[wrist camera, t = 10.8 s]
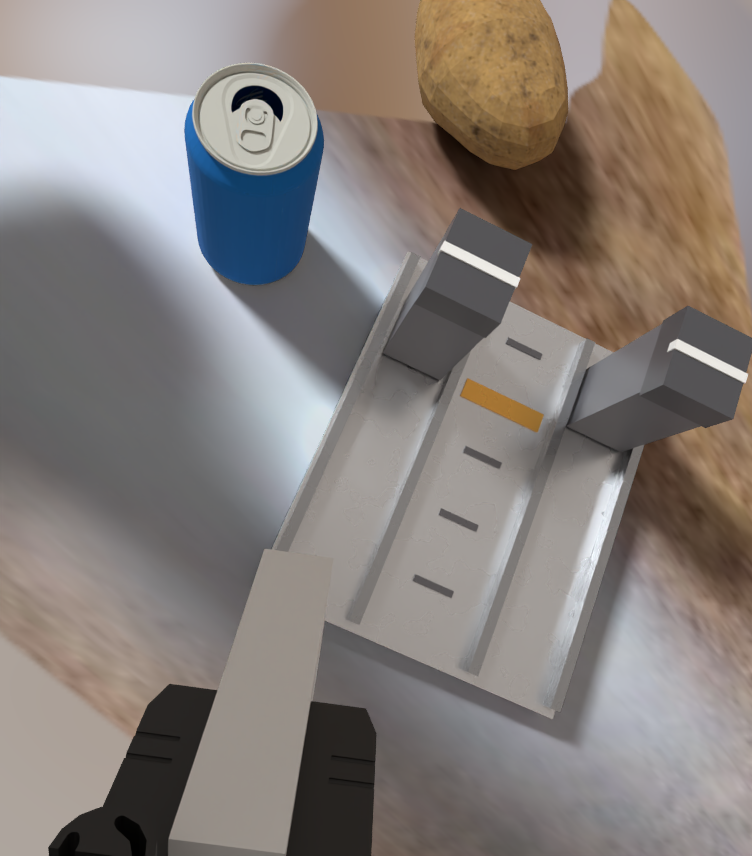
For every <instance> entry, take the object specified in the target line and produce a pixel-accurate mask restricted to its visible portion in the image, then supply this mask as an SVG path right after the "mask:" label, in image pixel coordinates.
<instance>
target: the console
mask: <svg viewBox="0 0 752 856" xmlns="http://www.w3.org/2000/svg"><path fill="white" fill-rule="evenodd" d="M420 257H421V256H419V255H416V254H414V253H410V252H407V254H406V256H405V258H404V260H403V262H402V264H401V266H400V268H399V270H398V272H397V275H396V277H395V279H394V281H393V283H392V286H391V288H390V290H389V292H388V294H387V296H386V299H385V301H384V303H383V305H382V307H381V310H380V312H379V314H378V316H377V318H376V321H375V323H374V325H373V327H372V329H371V331H370V334H369V336H368V338H367V340H366V342H365V345H364V347H363V349H362V351H361V353H360V356H359V358H358V360H357V362H356V364H355V367H354V369H353V371H352V373H351V375H350V377H349V380H348V382H347V384H346V386H345V388H344V391H343V393H342V395H341V397H340V399H339V402H338V404H337V406H336V408H335V410H334V412H333V415H332V417H331V419H330V421H329V423H328V426H327V428H326V430H325V432H324V434H323V437H322V439H321V441H320V443H319V445H318V448H317V450H316V452H315V454H314V456H313V458H312V461H311V463H310V465H309V467H308V469H307V472H306V474H305V476H304V478H303V480H302V483H301V485H300V487H299V489H298V491H297V493H296V496H295V498H294V500H293V502H292V504H291V507H290V509H289V511H288V513H287V515H286V518H285V520H284V522H283V524H282V526H281V528H280V531H279V533H278V535H277V537H276V539H275V542H274V544H273V546H272V548H271V550H278V551H285V552H293V553H300V554H307V555H314V556H321V557H328V558H333V565H332V572H331V579H330V586H329V593H328V600H327V608H326V615H325V621H327V622H329V623H331V624H334V625H336V626H338V627H341V628H343V629H345V630H348V631H350V632H352V633H354V634H357V635H359V636H361V637H364V638H366V639H368V640H371V641H373V642H375V643H377V644H380V645H382V646H384V647H387V648H389V649H391V650H394V651H396V652H398V653H401V654H403V655H405V656H407V657H410V658H412V659H414V660H417V661H419V662H421V663H424V664H426V665H428V666H431V667H433V668H435V669H437V670H440V671H442V672H444V673H447V674H449V675H451V676H454V677H456V678H458V679H461V680H463V681H465V682H467V683H470V684H472V685H474V686H477V687H479V688H481V689H484V690H486V691H488V692H490V693H493V694H495V695H497V696H500V697H502V698H504V699H507V700H509V701H511V702H514V703H516V704H518V705H520V706H523V707H525V708H527V709H530V710H532V711H534V712H537V713H539V714H541V715H544V716H546V717H548V718H550V719H553V717H554V714H555V710H556V711H558V712H561V709H562V706H563V703H564V700H565V696H566V693H567V690H568V687H569V684H570V680H571V677H572V674H573V671H574V668H575V664H576V661H577V658H578V655H579V652H580V649H581V645H582V642H583V639H584V636H585V633H586V629H587V626H588V623H589V620H590V617H591V613H592V610H593V607H594V604H595V601H596V597H597V594H598V591H599V588H600V585H601V582H602V578H603V575H604V572H605V569H606V566H607V562H608V559H609V556H610V553H611V550H612V546H613V543H614V540H615V537H616V534H617V530H618V527H619V524H620V521H621V518H622V515H623V511H624V508H625V505H626V502H627V499H628V495H629V492H630V489H631V486H632V483H633V479H634V476H635V473H636V470H637V467H638V463H639V460H640V457H641V454H642V451H643V448H644V445H641V446H638V447H635V448H632V449H629V450H626V451H623V452H619V451H617V450H615V449H613V448H611V447H609V446H607V445H605V444H602V443H600V442H598V441H596V440H594V439H592V438H590V437H588V436H586V435H584V434H582V433H579V432H577V431H575V430H573V429H571V428H569V427H567V426H566V425H567V422H568V419H569V416H570V413H571V411H572V408H573V405H574V402H575V399H576V396H577V394H578V391H579V388H580V385H581V382H582V379H583V376H584V374H585V371H586V369H587V368H589V367H591V366H592V365H594V364H596V363H597V362H599V361H601V360H602V359H604V358H606V357H608V356H609V355H611V354H613V352H611V351H609V350H607V349H605V348H603V347H601V346H599V345H597V344H595V342H593V341H591V340H589V339H585V338H583V337H581V336H579V335H577V334H575V333H573V332H570V331H568V330H566V329H564V328H562V327H560V326H558V325H556V324H554V323H552V322H550V321H548V320H546V319H544V318H542V317H540V316H538V315H536V314H534V313H532V312H530V311H528V310H526V309H524V308H522V307H520V306H518V305H516V304H514V303H512V302H509V304H508V307H507V309H506V312H505V314H504V317H503V319H502V322H501V324H500V325H499V326H498V327H497V328H496V329H495V330H494V331H492V332H491V333H490V334H489V335H488V336H487V337H486V338H483V339H482V340H481V341H480V342H479V343H478V344H477V345H476V346H475V347H474V348H473V349H472V350H471V351H470V352H469V353H468V354H467V355H466V356H465V357H464V358H463V359H462V360H461V361H460V362H458V363H457V364H456V365H455V366H454V367H453V368H452V369H451V370H450V371H449V372H448V373H447V374H446V375H445V376H444V377H443V378H442V379H441V380H438V379H436V378H434V377H432V376H430V375H428V374H426V373H424V372H421V371H419V370H417V369H415V368H413V367H411V366H409V365H407V364H405V363H403V362H400V361H398V360H396V359H394V358H392V357H390V356H388V355H386V354H384V353H382V352H383V350H384V348H385V346H386V344H387V341H388V339H389V337H390V335H391V332H392V330H393V328H394V326H395V323H396V321H397V319H398V317H399V314H400V312H401V310H402V308H403V305H404V303H405V301H406V299H407V297H408V295H409V293H410V291H411V290H412V288H413V286H414V285H415V283H416V281H417V280H418V278H419V276H420V275H421V273H422V271H423V270H424V268H425V266H426V265H427V263H428V261H426V260H424V259H422V258H420Z"/></svg>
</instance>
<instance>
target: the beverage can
mask: <svg viewBox="0 0 752 856" xmlns="http://www.w3.org/2000/svg"><path fill="white" fill-rule="evenodd" d="M184 131H185V142H186V150H187V158H188V166H189V174H190V181H191V189H192V197H193V205H194V213H195V221H196V229H197V236H198V242H199V246H200V249H201V252H202V254H203V256H204V257H205V259H206V260H207V262H208V263H209V264H210V265H211V266H212V268H213V269H214V270H216V271H217V272H218V273H219V274H221V275H222V276H224V277H226V278H228V279H230V280H232V281H235V282H238V283H242V284H247V285H262V284H268V283H271V282H274V281H277V280H279V279H281V278H283V277H284V276H286V275H287V274H288V273H290V272H291V271H292V270H293V269H294V268H295V267H296V265H297V264H298V262H299V261H300V259H301V257H302V254H303V251H304V247H305V242H306V237H307V232H308V226H309V221H310V216H311V211H312V206H313V201H314V195H315V190H316V185H317V180H318V175H319V170H320V165H321V159H322V154H323V148H324V137H323V130H322V126H321V122H320V120H319V118H318V115H317V113H316V110H315V107H314V104H313V102H312V100H311V98H310V96H309V94H308V93H307V92H306V90H305V89H304V88H303V87H302V86H301V85H300V83H298V82H297V81H296V80H295V79H294V78H292V77H291V76H290V75H288V74H287V73H285V72H283V71H281V70H279V69H276V68H274V67H271V66H268V65H264V64H257V63H239V64H235V65H230V66H227V67H224V68H222V69H220V70H218V71H216V72H215V73H213V74H212V75H210V76H209V77H208V78H207V79H206V80H205V81H204V82H203V84H202V85H201V86H200V88H199V90H198V91H197V94H196V96H195V99H194V100H193V102H192V104H191V105H190V108H189V110H188V113H187V116H186V120H185V129H184Z"/></svg>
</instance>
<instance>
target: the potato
mask: <svg viewBox="0 0 752 856" xmlns="http://www.w3.org/2000/svg"><path fill="white" fill-rule="evenodd" d="M416 20H417V21H416V29H415V48H416V60H417V70H418V82H419V88H420V93H421V98H422V103H423V105H424V107H425V108H426V109H427V111H428V112H429V114H430V115H431V117H432V118H433V119H434V121H435V122H436V123H437V124H438V125H440V126H441V127H442V128H443V129H445V130H446V131H447V132H448V133H449V134H451V135H452V136H453V137H454V138H455V139H456V140H458V141H459V142H460V143H461V144H462V145H463V146H464V147H465V148H467V149H468V150H469V151H470V152H472V153H473V154H475V155H476V156H478V157H480V158H481V159H483V160H484V161H486V162H488V163H489V164H492V165H496V166H500V167H505V168H509V169H513V170H516V169H519V168H522V167H525V166H527V165H530V164H533V163H535V162H538V161H540V160H542V159H543V158H545V157H546V156H548V155H549V154H551V153H553V150H554V148H555V146H556V143H557V141H558V139H559V136H560V134H561V132H562V129H563V127H564V125H565V121H566V117H567V114H568V87H567V80H566V73H565V66H564V61H563V57H562V52H561V48H560V44H559V41H558V38H557V35H556V32H555V29H554V26H553V23H552V20H551V18H550V16H549V15H548V13H547V12H546V10H545V8H544V7H543V5H542V3H541V1H540V0H420V3H419V8H418V12H417V19H416Z"/></svg>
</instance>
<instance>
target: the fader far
mask: <svg viewBox="0 0 752 856" xmlns="http://www.w3.org/2000/svg"><path fill="white" fill-rule="evenodd" d="M751 353H752V338H751V337H749V336H747V335H745V334H743V333H741V332H739V331H737V330H735V329H733V328H731V327H729V326H727V325H725V324H723V323H721V322H719V321H717V320H715V319H713V318H711V317H709V316H707V315H705V314H703V313H701V312H700V311H698V310H696V309H694V308H692V307H690V306H687V307H685V308H683V309H682V310H680V311H678V312H677V313H675V314H673V315H672V316H670V317H668V318H667V319H665V320H663V323H662V324H661V325H659V326H658V327H656V328H654V329H653V330H651V331H649V332H648V333H646V334H644V335H643V336H641V337H639V338H638V339H636V340H634V341H633V342H631V343H629V344H628V345H626V346H624V347H623V348H621V349H619V350H618V351H616V352H614V353H613V354H611V355H609V356H608V357H606V358H604V359H602V360H601V361H599V362H597V363H596V364H594V365H592V366H591V367H589V368H587V369H586V371H585V374H584V376H583V379H582V382H581V385H580V388H579V391H578V394H577V396H576V399H575V402H574V405H573V408H572V411H571V413H570V416H569V419H568V422H567V425H566V426H567V427H569V428H571V429H573V430H575V431H577V432H579V433H582V434H584V435H586V436H588V437H590V438H592V439H594V440H596V441H598V442H600V443H602V444H605V445H607V446H609V447H611V448H613V449H615V450H617V451H619V452H623V451H626V450H629V449H632V448H635V447H638V446H641V445H644V444H647V443H651V442H654V441H657V440H660V439H663V438H666V437H669V436H672V435H675V434H678V433H681V432H684V431H688V430H691V429H694V428H697V427H700V426H702V427H704V428H707V427H710V426H713V425H716V424H719V423H723V422H726V421H729V420H732V419H733V418H734V414H735V411H736V407H737V404H738V400H739V396H740V393H741V389H742V386H743V384H744V383H746V380H747V376H748V374H747V373H746V371H747V368H748V364H749V360H750V357H751Z"/></svg>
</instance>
